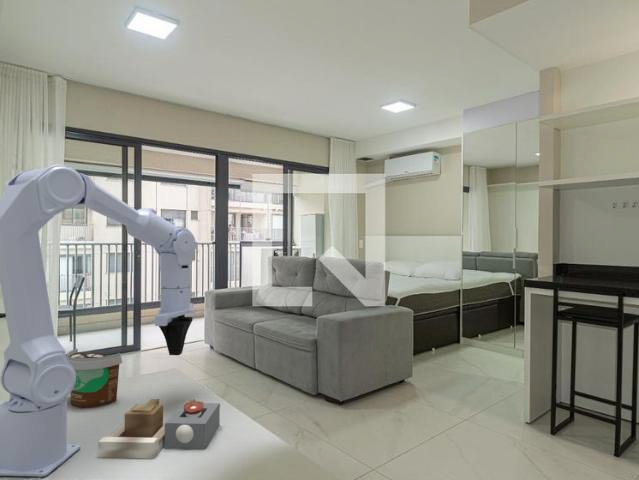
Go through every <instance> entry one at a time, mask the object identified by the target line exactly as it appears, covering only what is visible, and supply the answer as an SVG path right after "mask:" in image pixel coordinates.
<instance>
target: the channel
mask: <svg viewBox="0 0 639 480" xmlns="http://www.w3.org/2000/svg"><path fill="white" fill-rule="evenodd" d="M193 401H196V399H192V398H191V399H186V400H185V401H183V403H189V402H193ZM145 404H160V399H159V398H151V399H150V400H149V401H148V402H146V403H145ZM163 448H165V423H163V426H162V427H161V429H160V430H159V431H158V432H157V433H156V434H155V435H154V436H153V437H152V438H142V437H125V422H123V423H122V424H121V425H120V426H119V427H118V428H116V430H114V431H113V432H112V433H111V434H109V436H103V437H102V438H101V439H100V440H99V441H98V442H97V453H98V454H97V456H98V457H97V458H102V459H103V458H107V459H108V458H114V459H115V458H116V459H118V458H120V459H154V458H156V457H157V455H158V454H159V452H161V450H162V449H163Z"/></svg>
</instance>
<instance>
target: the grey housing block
mask: <svg viewBox="0 0 639 480" xmlns="http://www.w3.org/2000/svg"><path fill="white" fill-rule="evenodd" d="M185 404H186V403H184V402H182V404H181V405H180V406H179V407H178V408H177V410H175V411H174V413H172V415H171V416H170V417H168V419H167V420H166V421H165V422H164V424H165V446H164V449H178V450H179V449H181V450H183V449H187V450H193V449H194V450H206V448H207V447H208V445H209V444H210V442H211V441H212V439H213V437H214V436H215V434H216V432H217V431H218V429H219V427H220V422H221V421H220V410H221V409H220V402H217V403H215V402H210V403H209V402H203V404H204V409H203V411H202V416H201V418H200V417H186V413H185V412H184V405H185Z"/></svg>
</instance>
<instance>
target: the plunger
mask: <svg viewBox="0 0 639 480" xmlns="http://www.w3.org/2000/svg"><path fill="white" fill-rule="evenodd" d="M203 403H204V402H202V401H198V400H195V401H193V402H189V403H186V404H185V405H184V412H185V413H186V417H200V418H201V416H202V411H203V409H204V404H203Z"/></svg>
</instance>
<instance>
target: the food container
mask: <svg viewBox="0 0 639 480" xmlns="http://www.w3.org/2000/svg"><path fill="white" fill-rule="evenodd" d="M66 358H67V360H68V362H69V363H70V364H71V365H72V366H73V368H74V369H75V372H76V382H75V385H74V388H73V390H72V391H71V393H70V394H69V395H70V398H69V399H70V404H71V406H72V407H73V408H76V409H93V408H94V409H95V408H99V407H103V406H108V405H110V403H111V404H113V403H115V402H117V400H118V399H117V398H118V396H117V395H118V387H119V386H118V385H119V377H120V376H119V373H120V365H121V364H123V360H122V359H123V358H122V355H121V353H120V352H118V353H115V354H111V355H106V354H102V353H98V352H95V353H93V352H92V353H81V352H79V349H78V348H75V349H72V350H70V351H68V352H67V354H66ZM114 401H115V402H114ZM112 402H113V403H112Z"/></svg>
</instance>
